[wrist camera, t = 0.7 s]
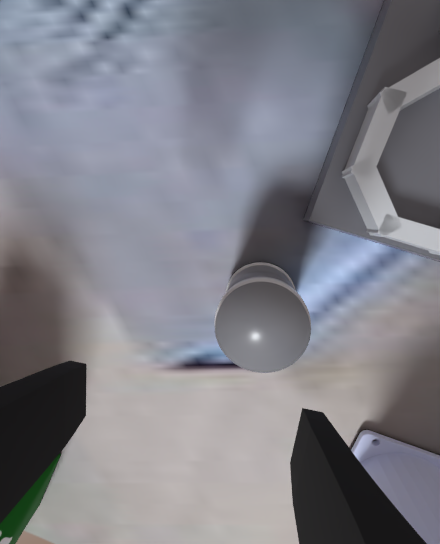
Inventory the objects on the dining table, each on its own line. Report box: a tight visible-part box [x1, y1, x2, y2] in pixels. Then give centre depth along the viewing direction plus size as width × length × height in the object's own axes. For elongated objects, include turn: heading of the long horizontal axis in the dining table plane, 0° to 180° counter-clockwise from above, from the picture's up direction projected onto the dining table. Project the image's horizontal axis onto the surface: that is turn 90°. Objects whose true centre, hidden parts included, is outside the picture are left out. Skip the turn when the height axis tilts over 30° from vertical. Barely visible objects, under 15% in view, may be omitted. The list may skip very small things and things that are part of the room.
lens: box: [215, 262, 311, 373], centre depth 15 cm, size 5×5×6 cm
